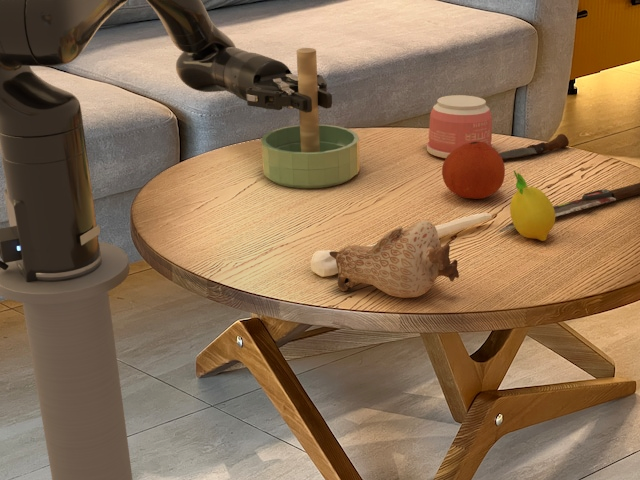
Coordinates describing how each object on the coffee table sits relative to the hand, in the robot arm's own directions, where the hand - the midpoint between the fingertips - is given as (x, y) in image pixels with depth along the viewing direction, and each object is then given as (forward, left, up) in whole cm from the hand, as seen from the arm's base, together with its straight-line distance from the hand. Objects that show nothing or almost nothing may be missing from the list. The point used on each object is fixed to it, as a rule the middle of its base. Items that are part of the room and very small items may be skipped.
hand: (319, 103), depth 158 cm
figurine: (-4, -45, -7) cm, 46 cm away
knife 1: (+33, -3, -11) cm, 35 cm away
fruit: (+16, -17, -12) cm, 26 cm away
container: (+25, +1, -3) cm, 25 cm away
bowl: (0, +3, -11) cm, 12 cm away
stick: (0, +3, -11) cm, 11 cm away
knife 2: (+10, -31, -11) cm, 34 cm away
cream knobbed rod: (-2, -29, -11) cm, 31 cm away
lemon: (+15, -36, -11) cm, 41 cm away
